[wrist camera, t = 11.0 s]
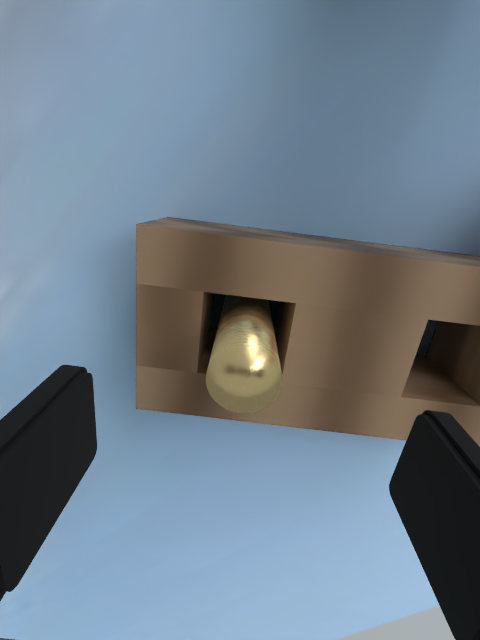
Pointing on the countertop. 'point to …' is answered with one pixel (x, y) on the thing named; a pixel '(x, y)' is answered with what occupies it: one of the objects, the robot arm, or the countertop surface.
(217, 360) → the brass peg
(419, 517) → the robot arm
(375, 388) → the hole block
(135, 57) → the countertop surface
